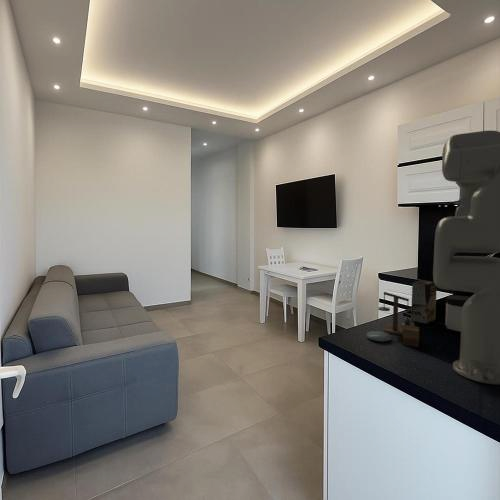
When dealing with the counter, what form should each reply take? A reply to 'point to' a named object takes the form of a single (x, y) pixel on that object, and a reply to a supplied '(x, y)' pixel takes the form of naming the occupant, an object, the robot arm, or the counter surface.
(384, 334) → the dish
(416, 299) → the coffee box
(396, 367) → the counter surface
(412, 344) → the block
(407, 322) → the balance
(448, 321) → the jar
